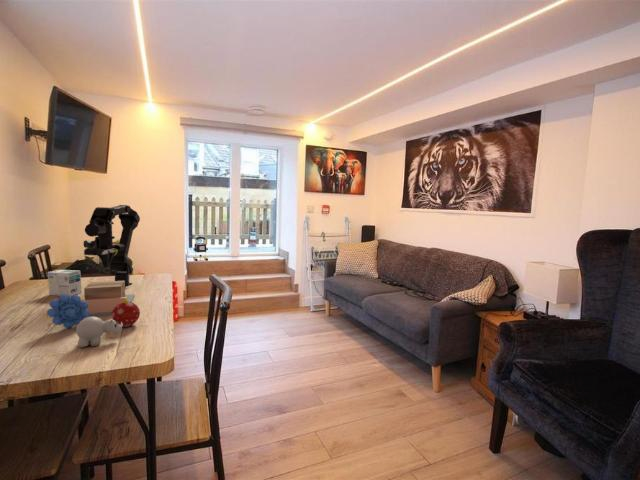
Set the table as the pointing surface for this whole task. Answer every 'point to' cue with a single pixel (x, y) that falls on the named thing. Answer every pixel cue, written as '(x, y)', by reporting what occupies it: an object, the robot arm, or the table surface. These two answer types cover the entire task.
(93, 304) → the stop bar
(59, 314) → the blue lumpy rosette
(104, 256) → the robot arm
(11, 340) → the table surface
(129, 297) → the slate board
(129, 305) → the christmas ornament
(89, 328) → the round bodied animal figurine
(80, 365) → the table surface
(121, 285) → the walnut slab
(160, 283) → the table surface
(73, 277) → the light bulb box
